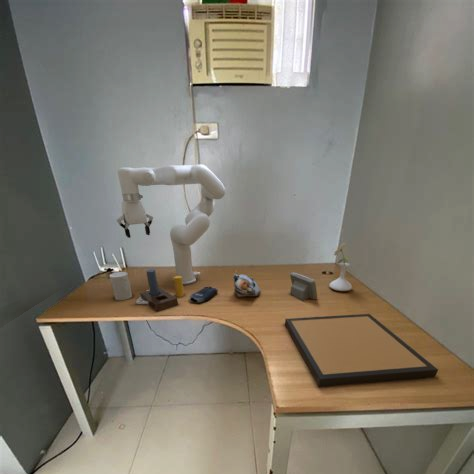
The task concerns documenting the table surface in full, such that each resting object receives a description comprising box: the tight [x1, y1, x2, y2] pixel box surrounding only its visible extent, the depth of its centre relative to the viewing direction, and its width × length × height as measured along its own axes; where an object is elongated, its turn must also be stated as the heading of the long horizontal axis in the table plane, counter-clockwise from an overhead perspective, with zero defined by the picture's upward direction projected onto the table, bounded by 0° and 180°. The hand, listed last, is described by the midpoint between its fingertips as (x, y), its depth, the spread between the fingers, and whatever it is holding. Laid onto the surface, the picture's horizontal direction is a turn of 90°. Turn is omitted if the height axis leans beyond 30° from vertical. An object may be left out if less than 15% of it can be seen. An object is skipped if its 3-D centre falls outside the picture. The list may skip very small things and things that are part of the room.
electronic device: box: [189, 286, 219, 303], centre depth 127 cm, size 9×6×15 cm
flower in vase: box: [329, 242, 353, 292], centre depth 130 cm, size 13×11×25 cm
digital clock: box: [289, 272, 318, 301], centre depth 127 cm, size 16×9×11 cm, turn 20°
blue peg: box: [145, 268, 159, 296], centre depth 123 cm, size 4×4×15 cm
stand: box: [139, 287, 179, 312], centre depth 123 cm, size 11×18×4 cm, turn 40°
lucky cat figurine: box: [233, 272, 262, 298], centre depth 127 cm, size 15×12×14 cm
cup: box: [109, 271, 133, 301], centre depth 127 cm, size 8×8×12 cm
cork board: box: [284, 313, 439, 388], centre depth 88 cm, size 36×3×35 cm
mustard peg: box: [173, 275, 185, 298], centre depth 129 cm, size 4×4×10 cm
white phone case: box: [136, 289, 150, 305], centre depth 128 cm, size 7×1×15 cm
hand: (138, 236), depth 126 cm, fingers open, 9 cm apart
